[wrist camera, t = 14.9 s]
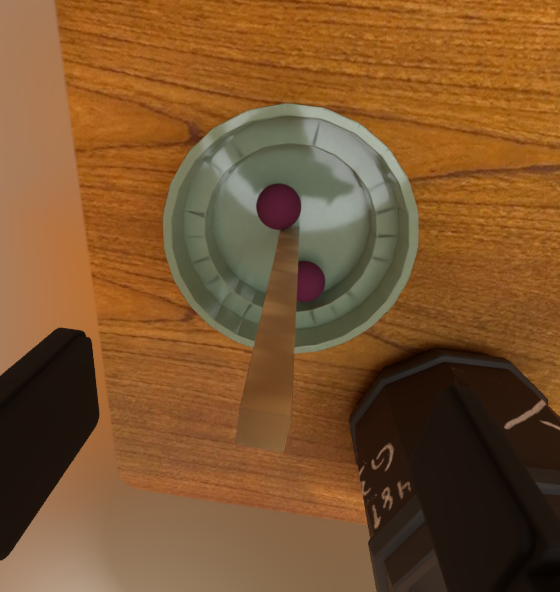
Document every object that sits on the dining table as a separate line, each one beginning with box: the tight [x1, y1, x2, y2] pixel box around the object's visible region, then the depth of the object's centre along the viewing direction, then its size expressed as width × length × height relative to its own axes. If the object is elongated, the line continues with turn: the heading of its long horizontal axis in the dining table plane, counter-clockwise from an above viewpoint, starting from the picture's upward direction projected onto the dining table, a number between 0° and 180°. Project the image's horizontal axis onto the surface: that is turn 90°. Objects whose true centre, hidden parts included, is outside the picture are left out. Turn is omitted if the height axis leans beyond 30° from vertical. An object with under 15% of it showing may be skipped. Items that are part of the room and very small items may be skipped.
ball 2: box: [297, 261, 325, 302], centre depth 28 cm, size 3×3×3 cm
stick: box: [235, 226, 300, 452], centre depth 19 cm, size 1×1×20 cm
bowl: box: [163, 103, 418, 354], centre depth 26 cm, size 16×16×6 cm
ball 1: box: [256, 183, 301, 230], centre depth 25 cm, size 3×3×3 cm
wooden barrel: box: [349, 348, 560, 592], centre depth 28 cm, size 18×18×16 cm
